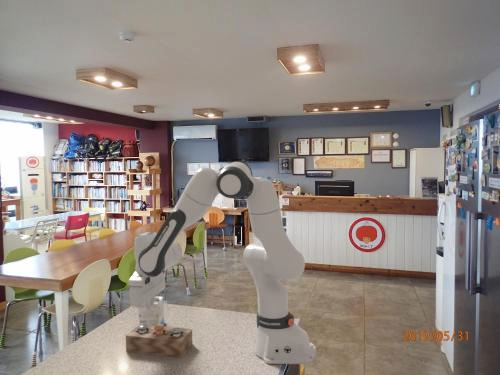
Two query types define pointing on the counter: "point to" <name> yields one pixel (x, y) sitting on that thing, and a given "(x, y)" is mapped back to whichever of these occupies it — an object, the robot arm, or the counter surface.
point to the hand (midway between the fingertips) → (150, 309)
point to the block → (159, 342)
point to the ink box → (152, 313)
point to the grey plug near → (176, 332)
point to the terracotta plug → (159, 329)
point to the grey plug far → (142, 328)
